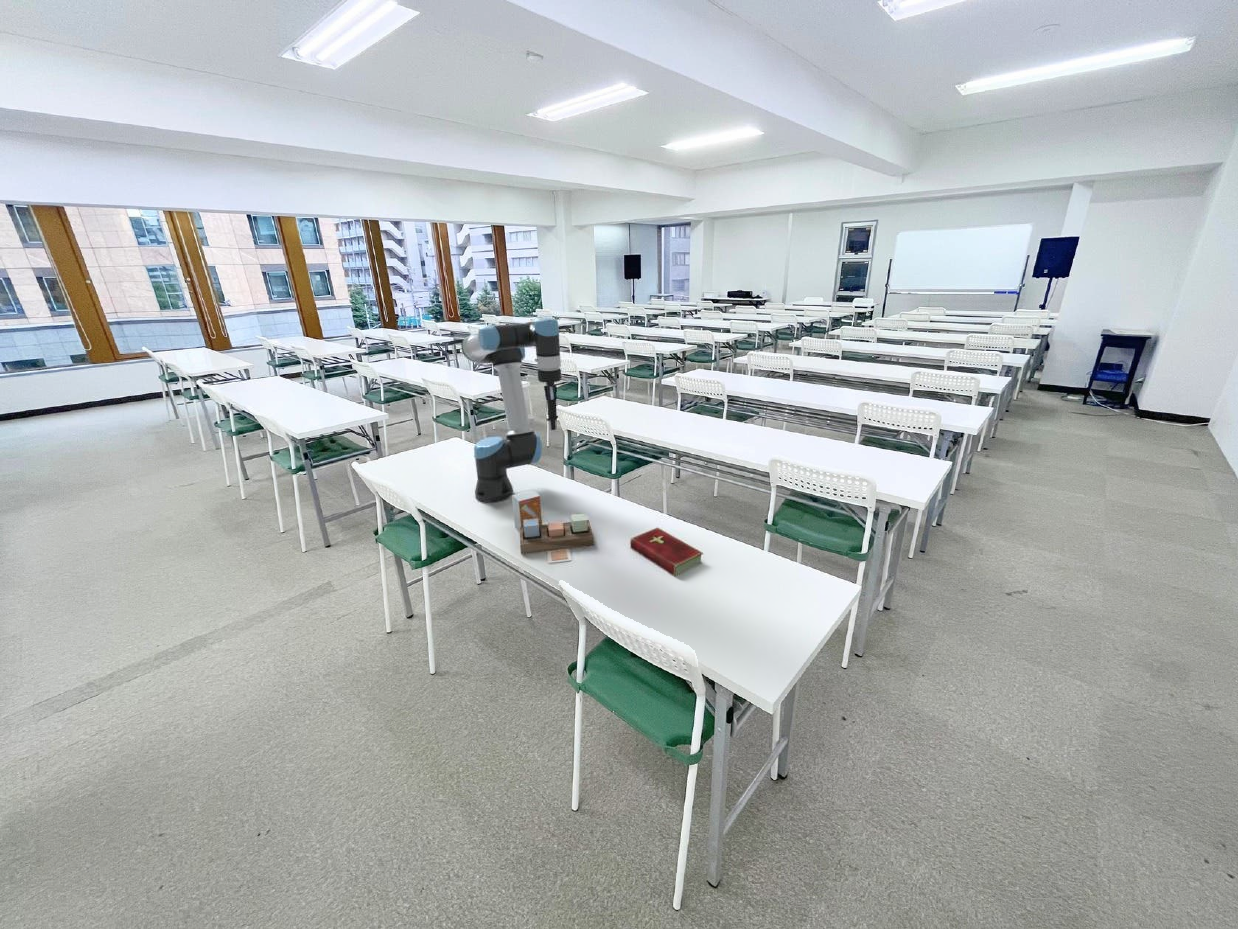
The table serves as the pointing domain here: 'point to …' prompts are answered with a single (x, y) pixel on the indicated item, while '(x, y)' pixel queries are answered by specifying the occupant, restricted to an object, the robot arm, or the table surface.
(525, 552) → the wooden tray
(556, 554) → the tile
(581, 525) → the cap sage
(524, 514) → the small box
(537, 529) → the light blue cube
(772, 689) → the table surface
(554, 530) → the cap terracotta
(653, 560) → the hardcover book
